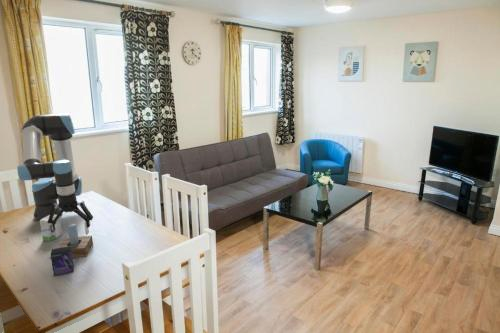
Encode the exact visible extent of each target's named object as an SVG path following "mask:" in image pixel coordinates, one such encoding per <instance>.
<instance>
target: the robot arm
mask: <svg viewBox="0 0 500 333" xmlns="http://www.w3.org/2000/svg"><path fill="white" fill-rule="evenodd" d="M20 132H21V133H20V135H21V137H22V139H23V148H22V150H23V154H22V155H23V156H22V158H23V159H22V160H23V162H22V164H19V165H18V166H17V176H18V179H19V180H20V181H33V180H34V182H33V183H32V184H31V192H32V195H33V196H32V197H33V202H34V206H35V207H34V211H33V212H34V213H33V219H34V221H37V222H40V220H41V219H43V218H45V217H47V216H49V215H50V216H49V219H48V222H47V223H51V224H52V225H53V230H56V236H57V238H59V237H60V236H61V235H60V230H59V224H58V222H56V221H57V220H58V218H59V219H60V217H61V216H63V213H74V214H75V213H76V214H77V215H78V217H80V218H81V219H82V220H83V221H84V222H83V226H84V230H85V235H86V236H88V234H89V233H90V229H89V228H90V227H91V222H90V221H92V220H93V219H94V215H93V214H92V213H91V212H90V210H89V208H87V206H86V204H85V201H84V200H82V201H79V202H78V200H77V197H78V196H80V195H82V192H83V185H82V184H83V183H82V177H81V176H79V174H78V173H76V171H75V170H76V168H75V163H74V162H75V161H74V157H73V149H72V142H71V139H72V138H73V135H74V134H75V127H74V124H73V121H72V118H71V116H70V114H68V113H53V114H37V115H34V116H32V117H31V118H29V119H28V120H26V121H25V122H24V124H23V125H22V127H21V130H20ZM43 137H49V139H50V140H51V141H52V142H53V146H54V148H53V149H54V152H55V158H56V160H54V161H53V160H52V161H44V162H43V160H42V142H41V141H42V138H43ZM35 180H36V181H35ZM78 206H79V207H80V208H81V209H80V208H79V207H78ZM54 214H55V215H57V216H56V218H55V219H54V220H52V219H53V216H54ZM59 235H60V236H59Z"/></svg>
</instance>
